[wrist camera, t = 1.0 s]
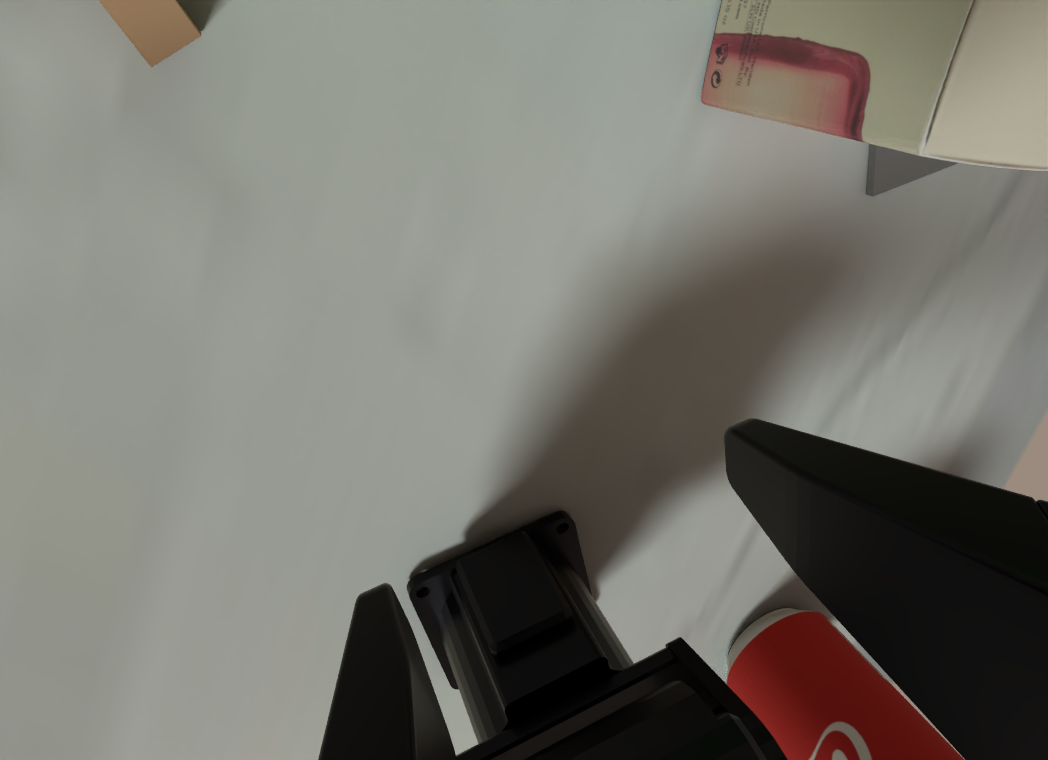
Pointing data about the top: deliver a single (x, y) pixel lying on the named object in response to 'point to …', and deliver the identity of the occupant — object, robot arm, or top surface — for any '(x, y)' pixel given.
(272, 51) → the top surface
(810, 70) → the small box
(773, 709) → the beverage can
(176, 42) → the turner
